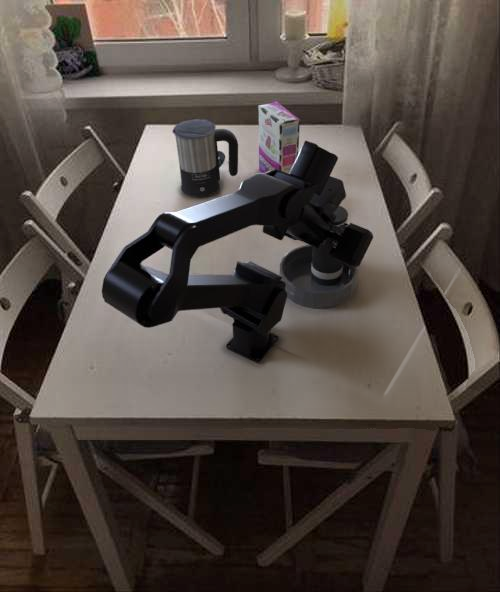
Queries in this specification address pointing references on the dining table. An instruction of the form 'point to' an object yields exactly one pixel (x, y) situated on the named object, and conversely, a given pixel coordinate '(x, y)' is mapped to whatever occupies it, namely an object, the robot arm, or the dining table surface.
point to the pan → (308, 291)
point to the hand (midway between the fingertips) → (333, 241)
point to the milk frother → (203, 156)
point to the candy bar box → (277, 138)
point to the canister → (324, 265)
